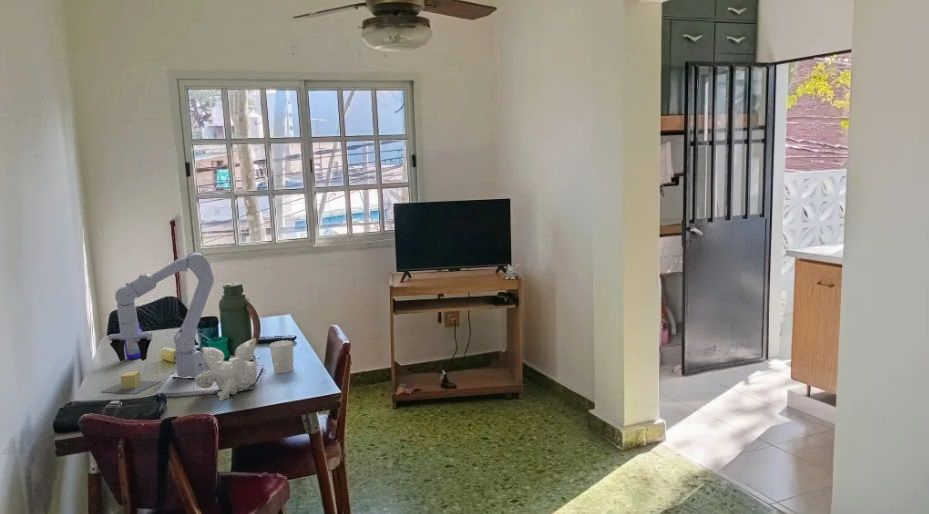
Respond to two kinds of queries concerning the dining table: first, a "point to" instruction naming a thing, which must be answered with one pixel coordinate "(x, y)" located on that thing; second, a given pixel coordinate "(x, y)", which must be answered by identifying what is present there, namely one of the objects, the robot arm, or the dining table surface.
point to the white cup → (282, 356)
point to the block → (130, 380)
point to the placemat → (136, 390)
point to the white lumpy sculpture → (229, 370)
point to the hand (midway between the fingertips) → (133, 360)
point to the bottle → (132, 347)
